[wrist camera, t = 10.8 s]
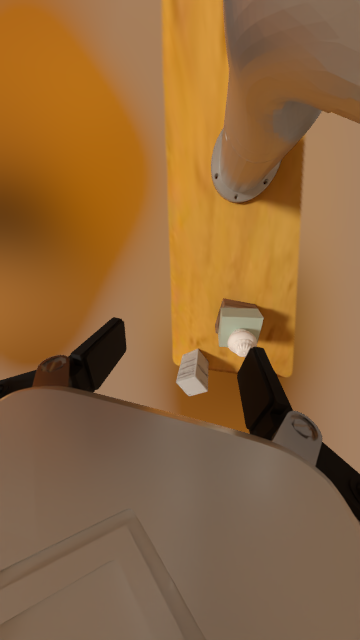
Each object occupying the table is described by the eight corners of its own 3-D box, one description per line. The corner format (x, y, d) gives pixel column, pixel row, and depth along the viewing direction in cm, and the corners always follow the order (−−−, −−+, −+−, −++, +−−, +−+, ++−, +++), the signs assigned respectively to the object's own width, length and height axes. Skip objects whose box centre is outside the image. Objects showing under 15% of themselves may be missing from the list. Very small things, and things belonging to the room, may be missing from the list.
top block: (220, 307, 39) (222, 316, 35) (257, 308, 37) (263, 318, 33) (218, 335, 44) (219, 346, 39) (251, 337, 42) (255, 349, 38)
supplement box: (209, 361, 56) (208, 392, 45) (192, 367, 59) (188, 397, 48) (198, 347, 53) (195, 376, 43) (182, 354, 56) (175, 382, 46)
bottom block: (223, 298, 43) (224, 305, 39) (254, 304, 42) (259, 312, 38) (215, 324, 47) (215, 333, 43) (243, 329, 47) (247, 339, 42)
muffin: (228, 321, 35) (232, 341, 29) (255, 324, 34) (265, 344, 28) (224, 341, 38) (227, 363, 32) (249, 344, 37) (256, 366, 32)
